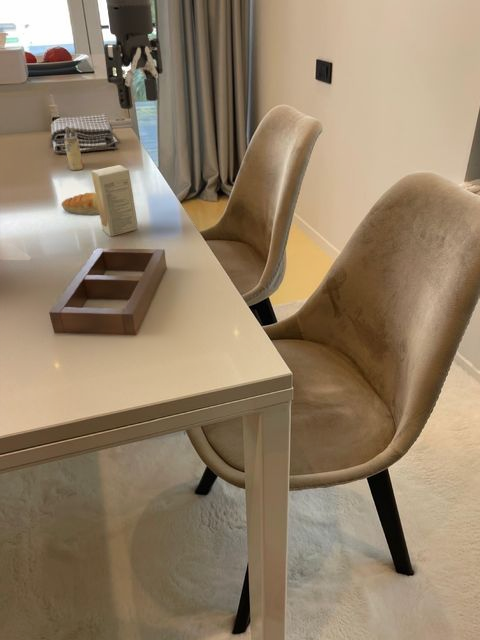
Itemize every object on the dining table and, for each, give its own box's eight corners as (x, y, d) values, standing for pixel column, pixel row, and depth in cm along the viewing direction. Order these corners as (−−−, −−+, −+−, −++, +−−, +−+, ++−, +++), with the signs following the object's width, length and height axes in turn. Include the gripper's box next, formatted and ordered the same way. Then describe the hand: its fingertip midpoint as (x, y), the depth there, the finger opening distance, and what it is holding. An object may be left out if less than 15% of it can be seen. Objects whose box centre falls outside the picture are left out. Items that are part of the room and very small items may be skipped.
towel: (53, 143, 172) (48, 116, 168) (114, 138, 177) (110, 112, 172) (54, 156, 160) (48, 127, 156) (119, 150, 165) (115, 122, 160)
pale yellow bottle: (83, 170, 148) (75, 130, 143) (68, 171, 147) (60, 131, 142) (82, 163, 154) (76, 124, 148) (68, 164, 153) (61, 125, 148)
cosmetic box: (129, 223, 116) (121, 163, 109) (139, 229, 113) (130, 168, 106) (100, 230, 113) (89, 169, 106) (109, 237, 110) (98, 175, 103)
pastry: (59, 216, 120) (56, 198, 118) (67, 205, 125) (64, 188, 123) (104, 215, 120) (101, 197, 118) (109, 204, 126) (107, 188, 124)
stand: (56, 343, 78) (48, 312, 76) (101, 275, 96) (96, 247, 93) (137, 345, 78) (132, 314, 75) (167, 276, 96) (164, 249, 93)
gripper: (133, 0, 102) (143, 96, 111) (84, 3, 91) (100, 109, 100) (168, 1, 100) (176, 99, 109) (122, 4, 89) (135, 113, 98)
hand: (139, 104), depth 104 cm, fingers open, 8 cm apart
